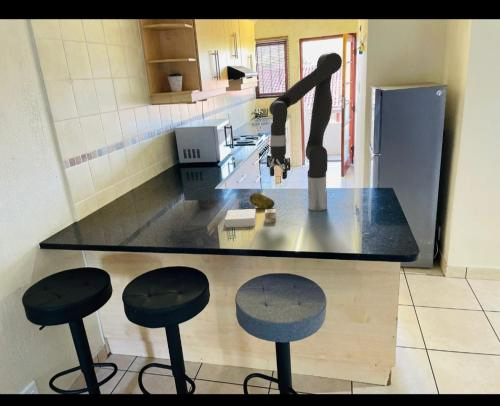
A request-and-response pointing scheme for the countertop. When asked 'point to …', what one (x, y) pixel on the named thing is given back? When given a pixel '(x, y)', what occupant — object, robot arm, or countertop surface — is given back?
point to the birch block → (270, 215)
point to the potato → (261, 201)
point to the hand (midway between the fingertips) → (278, 177)
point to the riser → (240, 218)
